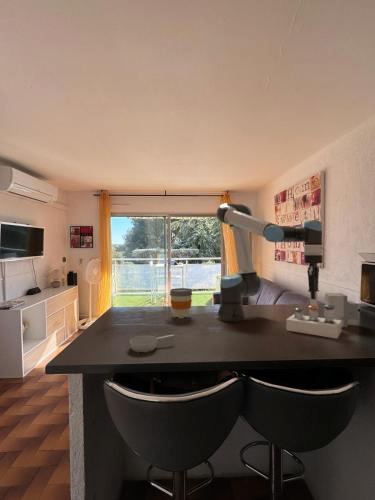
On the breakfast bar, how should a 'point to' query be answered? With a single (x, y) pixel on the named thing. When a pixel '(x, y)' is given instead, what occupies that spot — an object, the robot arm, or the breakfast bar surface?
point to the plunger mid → (313, 313)
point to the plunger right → (329, 314)
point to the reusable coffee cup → (181, 302)
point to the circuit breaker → (342, 307)
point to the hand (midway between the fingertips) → (313, 305)
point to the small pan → (145, 343)
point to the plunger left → (299, 313)
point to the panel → (314, 326)
